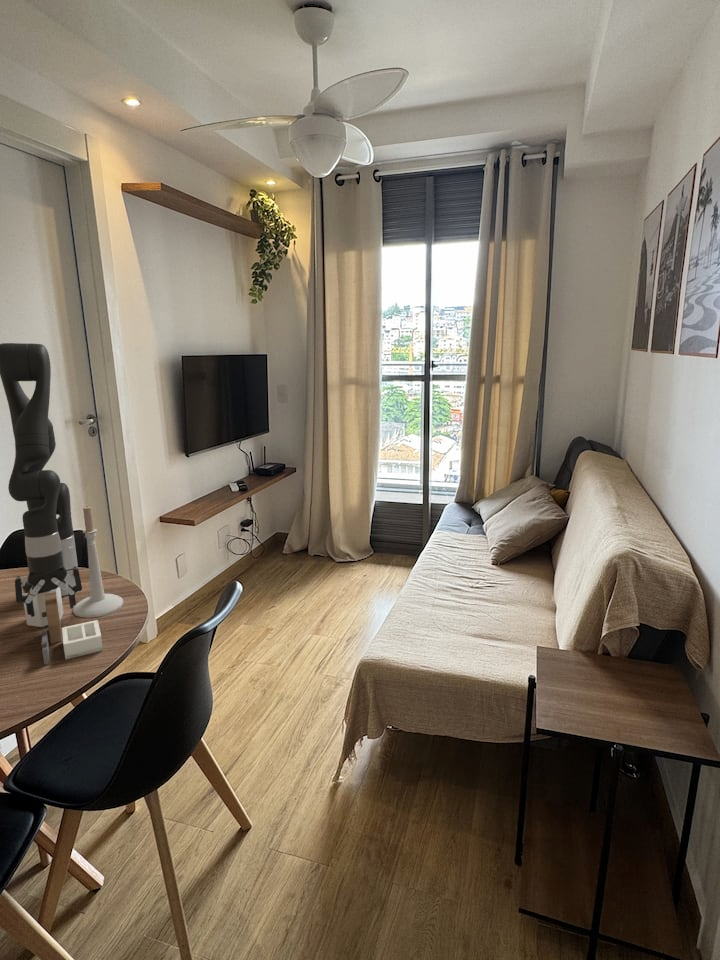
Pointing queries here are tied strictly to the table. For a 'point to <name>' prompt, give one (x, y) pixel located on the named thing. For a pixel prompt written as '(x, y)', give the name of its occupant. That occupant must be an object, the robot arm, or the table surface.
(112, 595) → the candlestick
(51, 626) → the door
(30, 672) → the table surface
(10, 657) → the table surface
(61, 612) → the jar
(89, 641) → the cabinet
